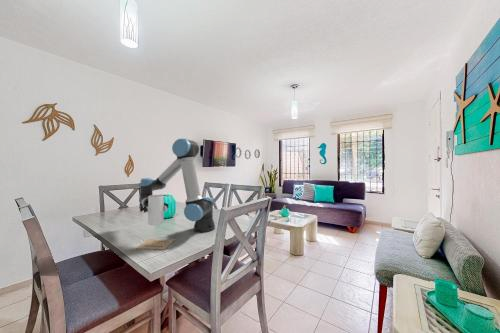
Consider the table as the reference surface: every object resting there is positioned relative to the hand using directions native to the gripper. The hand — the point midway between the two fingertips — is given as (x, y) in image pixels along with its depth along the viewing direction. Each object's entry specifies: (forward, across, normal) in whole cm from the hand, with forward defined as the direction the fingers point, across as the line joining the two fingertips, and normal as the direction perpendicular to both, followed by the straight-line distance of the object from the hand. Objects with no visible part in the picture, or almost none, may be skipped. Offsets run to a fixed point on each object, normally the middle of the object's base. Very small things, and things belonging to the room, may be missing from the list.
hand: (158, 210), depth 111 cm
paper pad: (-5, 0, -21) cm, 21 cm away
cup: (-5, 0, -9) cm, 10 cm away
